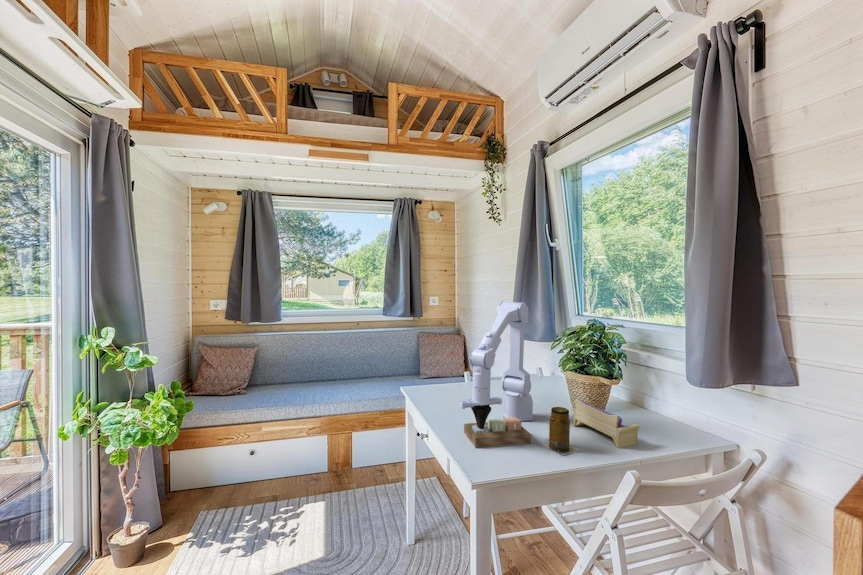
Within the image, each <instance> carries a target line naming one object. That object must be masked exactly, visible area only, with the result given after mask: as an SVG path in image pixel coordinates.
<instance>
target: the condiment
mask: <svg viewBox="0 0 863 575" xmlns="http://www.w3.org/2000/svg"><path fill="white" fill-rule="evenodd" d="M550 410H551V412H550V416H549V427H548V428H549V432H548V435H549V436H548V438H549V439H548V443H544V444H542V446H544V447H546V448H548V449H549V450H551V451H554V452H556V453H558V454H561V455H563V456H566V455H571V454H574V453H577V452H579V451H581V449H578V448H576V447H573V445H572V446H571V445H570V432H571V431H570V429H571V420H570V411H569V409H567V408H566V407H561V406H554V407H552V408H551V409H550Z"/></svg>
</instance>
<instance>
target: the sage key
mask: <svg viewBox="0 0 863 575" xmlns="http://www.w3.org/2000/svg"><path fill="white" fill-rule="evenodd" d="M487 422H488V428H489V429H490V431H491V432H501V431H505V424H506V423H505V422H504V421H503V419H502V418H500V417H499V418H487Z"/></svg>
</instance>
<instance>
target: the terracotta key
mask: <svg viewBox="0 0 863 575" xmlns="http://www.w3.org/2000/svg"><path fill="white" fill-rule="evenodd" d="M502 420H503V421H504V422H505V423H506V424H505V429H507V430H508V431H514V430H521V426H522V421H519V420H518V419H517V418H516V417H513V418H505V417H503V419H502Z"/></svg>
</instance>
